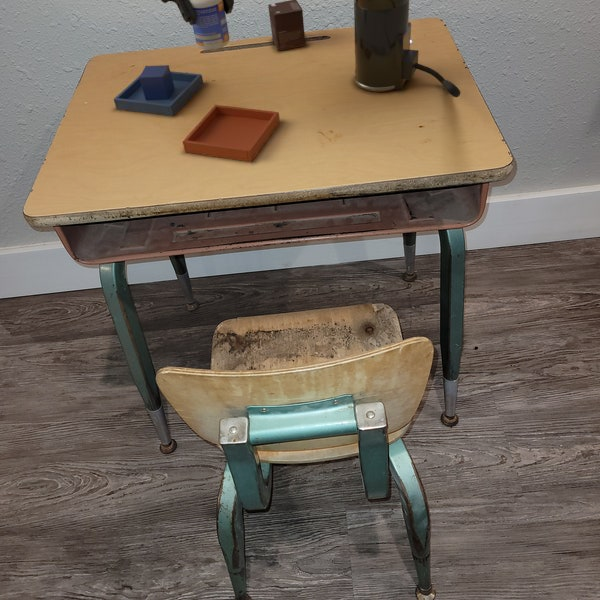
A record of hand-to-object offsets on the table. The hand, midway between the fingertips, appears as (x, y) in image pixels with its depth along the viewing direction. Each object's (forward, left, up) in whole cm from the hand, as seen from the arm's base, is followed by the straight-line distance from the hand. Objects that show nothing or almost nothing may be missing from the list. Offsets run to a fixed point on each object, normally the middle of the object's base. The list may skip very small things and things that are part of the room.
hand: (212, 16), depth 90 cm
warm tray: (-2, +3, -19) cm, 19 cm away
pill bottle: (+1, -1, -5) cm, 5 cm away
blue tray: (+18, -7, -19) cm, 27 cm away
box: (+2, -33, -19) cm, 38 cm away
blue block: (+18, -7, -18) cm, 27 cm away
